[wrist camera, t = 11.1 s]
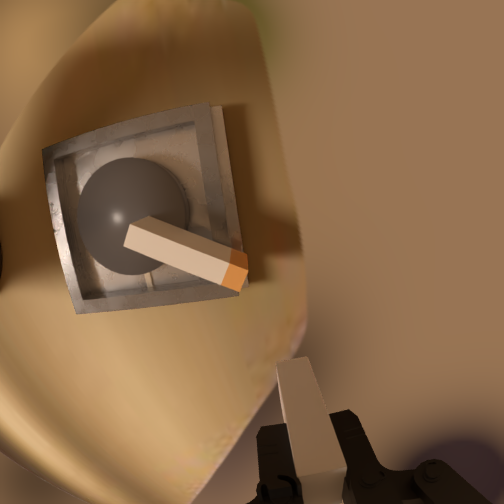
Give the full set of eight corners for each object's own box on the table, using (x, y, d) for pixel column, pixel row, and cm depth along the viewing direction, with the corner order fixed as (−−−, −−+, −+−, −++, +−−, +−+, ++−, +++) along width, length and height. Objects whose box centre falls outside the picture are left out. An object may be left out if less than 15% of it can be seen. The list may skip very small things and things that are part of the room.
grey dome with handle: (77, 245, 29) (40, 263, 22) (106, 145, 27) (70, 137, 20) (223, 305, 31) (218, 341, 24) (265, 204, 29) (273, 212, 22)
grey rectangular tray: (81, 304, 32) (69, 314, 29) (50, 153, 27) (35, 152, 24) (248, 283, 32) (249, 294, 29) (221, 107, 27) (220, 100, 24)
